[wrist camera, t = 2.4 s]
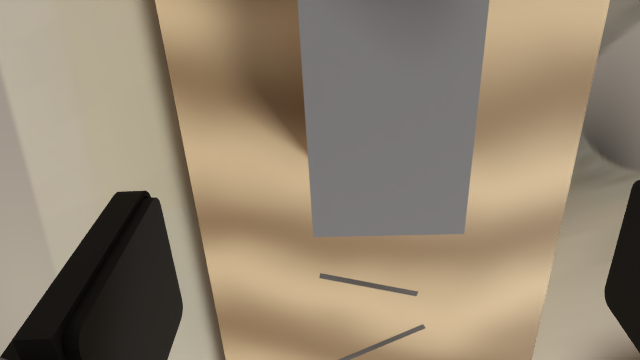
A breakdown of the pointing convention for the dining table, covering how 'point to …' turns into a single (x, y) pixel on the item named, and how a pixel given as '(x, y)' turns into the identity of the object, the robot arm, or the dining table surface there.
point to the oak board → (376, 251)
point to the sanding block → (390, 113)
